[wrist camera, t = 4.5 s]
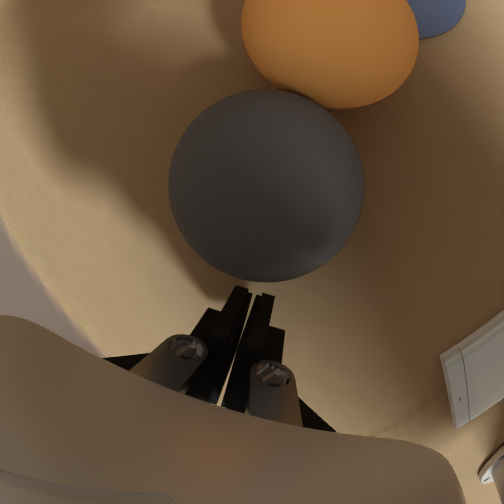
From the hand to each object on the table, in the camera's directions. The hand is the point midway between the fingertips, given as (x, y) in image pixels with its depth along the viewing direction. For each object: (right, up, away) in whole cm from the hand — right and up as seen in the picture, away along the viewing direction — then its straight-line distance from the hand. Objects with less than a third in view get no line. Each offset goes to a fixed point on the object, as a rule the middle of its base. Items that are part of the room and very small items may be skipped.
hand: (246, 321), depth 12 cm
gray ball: (+1, +5, -3) cm, 6 cm away
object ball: (+3, +10, -5) cm, 12 cm away
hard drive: (+18, -3, 0) cm, 18 cm away
